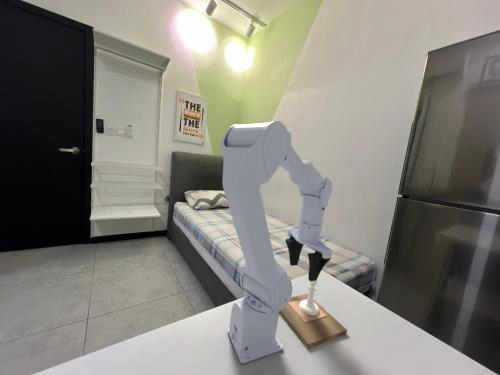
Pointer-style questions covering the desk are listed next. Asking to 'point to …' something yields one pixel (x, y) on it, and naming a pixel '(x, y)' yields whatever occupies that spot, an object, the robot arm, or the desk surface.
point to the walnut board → (311, 323)
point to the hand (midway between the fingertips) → (302, 272)
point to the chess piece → (310, 301)
